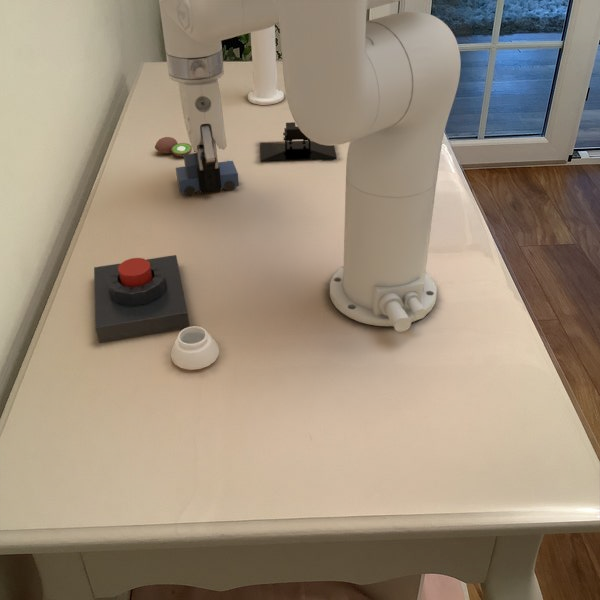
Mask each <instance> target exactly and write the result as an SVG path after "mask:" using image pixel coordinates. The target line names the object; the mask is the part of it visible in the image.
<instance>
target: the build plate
mask: <svg viewBox="0 0 600 600" xmlns="http://www.w3.org/2000/svg"><path fill="white" fill-rule="evenodd" d="M283 131H284V132H283V133H282V135H283V141H266V142H265V141H263V142H259V144H260V145H259V146H260V147H259V149H260V150H259V153H260V154H259V155H260V161H259V162H260V163H280V162H281V163H283V162H284V163H286V162H309V161H310V162H311V161H312V162H313V161H321V162H328V161H335V160H337V158H338V157H337V152H336V147H335V145H331V146H328V145H321V144H318V143H316V142H314V141H312V140H310V139H309V138H308V137H306V136H305V135H304V134H303V133H302V132H301V130H300V129H299V128H298V126H297V125H296V123H295V121H294V122H293V121H292V122H285V127H284V129H283Z"/></svg>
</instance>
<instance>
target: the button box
mask: <svg viewBox="0 0 600 600" xmlns="http://www.w3.org/2000/svg"><path fill="white" fill-rule="evenodd" d="M145 259H146V260H147V261H149V263H150V266H151V272H152V280H151V281H150V282H149V283H147V284H145V285H143V286H138V287H127V286H123V285H122V284H121V281H120V276H119V272H118V267H119V265H120V264H121V263H122V262H120V263H113V264H107V265H101V266H95V267H93V283H94V284H93V285H94V286H93V287H94V325H95V327H94V328H95V332H96V335H97V339H98V343H100V344H101V343H107V342H113V341H118V340H119V341H120V340H124V339H130V338H136V337H142V336H147V335H153V334H154V335H155V334H158V333H159V334H160V333H164V332H165V333H166V332H171V331H178V330H183V329H185V328H187V327H191V326H190V325H191V324H190V319H189V312H188V306H187V303H186V297H185V291H184V287H183V283H182V278H181V272H180V267H179V262H178V258H177V255H176V254H173V255H167V256H160V257H153V258H148V259H147V258H145Z"/></svg>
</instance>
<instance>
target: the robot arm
mask: <svg viewBox="0 0 600 600" xmlns="http://www.w3.org/2000/svg"><path fill="white" fill-rule="evenodd" d="M400 1H401V0H158V4H159V11H160V20H161V27H162V34H163V41H164V49H165V57H166V64H167V71H168V77H169V79H170V80H172V81H173V82H176V83H178V89H179V96H180V97H179V98H180V103H181V104H180V105H181V111H182V115H183V121H184V125H185V130H186V133H187V137H188V139H189V144H190V145H191V146H192V150H193V153H192V154H195V153H197V156H198V163H199V168H197V171H198V179H199V188H200V191H199V192H200V194H201V195H205V194H211V193H219V192H221V191H222V189H223V188H221V178H220V167H219V166H218V162H219V160H218V159H219V158H218V152H217V151H218V150H217V148H218V149H219V150H225V149H226V148H227V137H226V130H225V121H224V120H225V119H224V113H223V104H222V98H221V97H222V96H221V91H220V84H219V79H221V77H223V76H224V74H225V70H224V69H225V68H224V58H223V47H222V46H223V44H222V41H225V40H229V39H232V38H233V39H234V38H235V37H239V36H242V35H247V34H251V32H255V31H259V30H263V29H267V28H270V27H272V26H274V25H275V26H276V25H277V24H278V25H279V37H280V39H279V40H280V51H281V63H282V74H283V83H284V90H285V96H286V102H287V105H288V109H289V111H290V114H291V116H292V119H293V121H294V122H295V125H296V127H298V128H299V129H300V130H301V132H302V133H303V134H304V135H305V136H306V137H308V138H309V139H310V140H311V141H314V142H316V143H318V144H321V145H328V146H331V145H334V146H340V145H345V144H347V143H349V145H348V148H347V155H346V165H345V172H346V173H345V191H344V193H345V196H344V198H345V199H344V233H343V235H344V237H343V266H341V267H340V268H339V269H337V271H336V272H334V274H333V275H332V277H331V279H330V283H329V297H330V300H331V302H332V304H333V305H334V307H335V308H336V309H337V310H338V311H339V312H340V313H342V315H344V316H346V317H348V318H349V319H352V320H354V321H356V322H359V323H362V324H365V325H371V326H376V327H393V328H394V330H395V331H396V332H398V333H402V332H406V331H408V330H409V329H410V327H411V326H412V323H414V322H416V321H418V320H421V319H422V320H423V319H424V318H425V317H426V315H428V314H429V313H430V312H431V311H432V309H433V308H434V306H435V304H436V300H437V295H438V294H437V293H438V288H437V284H436V282H435V281H434V278H433V277H432V276H431V275H430V274H429V272H427V266H428V265H427V264H428V257H429V248H430V242H431V241H430V239H431V231H432V225H433V216H434V208H435V207H434V205H435V197H436V190H437V181H438V174H439V167H440V166H439V165H440V160H441V152H442V146H443V141H444V135H445V131H446V127H447V123H448V120H449V117H450V113H451V110H452V107H453V105H454V102H455V99H456V95H457V91H458V87H459V84H460V83H459V82H460V77H461V64H462V63H461V62H462V61H461V53H460V47H459V44H458V41H457V38H456V36H455V34H454V33H453V31H452V30H451V28H450V27H449V26H448V25H447V24H446V23H445V22H444V21H443V20H442V19H440V18H438V17H437V16H434V15H432V14H431V13H430V14H429V13H426V12H422V11H402V12H395V13H392V14H388V15H384V16H381V17H376V18H373V19H369V20H367V10H370V9H371V10H372V9H374V8H378V7H383V6H385V5H390V4H393V3H396V2H400ZM201 153H205V157H203V158H202V154H201Z"/></svg>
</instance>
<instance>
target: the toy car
mask: <svg viewBox="0 0 600 600" xmlns="http://www.w3.org/2000/svg"><path fill="white" fill-rule="evenodd" d="M194 153H195V154H193V153H189V154H187V155H183V156H182V157H183V163H184V166H178V167H175V174H176V180H177V181H176V182H177V185H178V188H179V193H180V194H184V195H185V196H187V197H192V196H194V195H195V193H197V192H200V188H199V179H198V171H197V168H199V163H198V156H197V152H194ZM201 154H202V158H203V157H205V153H201ZM218 166H219V167H220V178H221V188H222V189H225V190H226V191H229V192H231V191H233V190H234V189H235V187H239V185H240V184H239V172H238V170H237V168H236V165H235V163H234V160H225V161H218Z"/></svg>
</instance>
